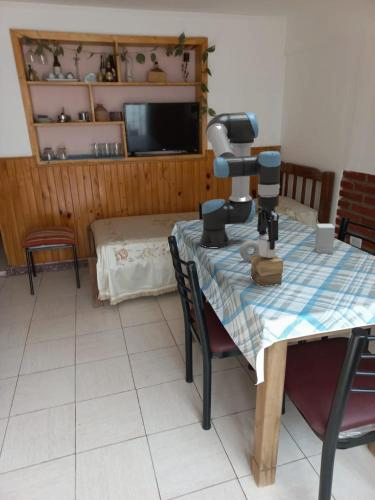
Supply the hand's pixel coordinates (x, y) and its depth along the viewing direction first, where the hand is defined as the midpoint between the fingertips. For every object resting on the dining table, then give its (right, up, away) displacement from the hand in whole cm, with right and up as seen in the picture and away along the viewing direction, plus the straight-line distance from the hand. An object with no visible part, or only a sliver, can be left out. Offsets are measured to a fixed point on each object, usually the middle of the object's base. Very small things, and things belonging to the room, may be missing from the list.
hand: (266, 253), depth 136 cm
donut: (-2, -4, +25) cm, 25 cm away
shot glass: (0, -1, 0) cm, 1 cm away
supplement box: (+35, +1, +33) cm, 48 cm away
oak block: (0, -7, +2) cm, 7 cm away
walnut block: (0, -11, +3) cm, 12 cm away
